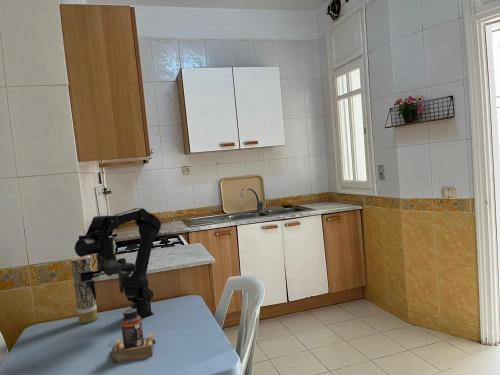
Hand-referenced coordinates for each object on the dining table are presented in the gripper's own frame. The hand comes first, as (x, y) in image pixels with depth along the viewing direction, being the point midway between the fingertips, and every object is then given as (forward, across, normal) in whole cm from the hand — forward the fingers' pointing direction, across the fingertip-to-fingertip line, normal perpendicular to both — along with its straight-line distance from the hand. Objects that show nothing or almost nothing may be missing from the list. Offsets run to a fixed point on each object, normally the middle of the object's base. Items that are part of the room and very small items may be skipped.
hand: (108, 296), depth 131 cm
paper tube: (+13, -1, +21) cm, 25 cm away
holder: (+13, 0, -21) cm, 25 cm away
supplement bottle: (+12, 0, -21) cm, 24 cm away
